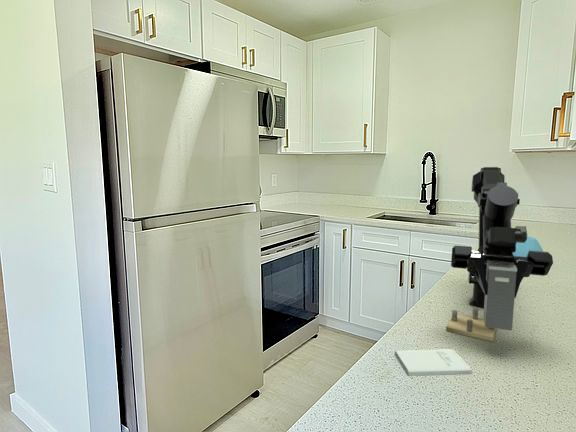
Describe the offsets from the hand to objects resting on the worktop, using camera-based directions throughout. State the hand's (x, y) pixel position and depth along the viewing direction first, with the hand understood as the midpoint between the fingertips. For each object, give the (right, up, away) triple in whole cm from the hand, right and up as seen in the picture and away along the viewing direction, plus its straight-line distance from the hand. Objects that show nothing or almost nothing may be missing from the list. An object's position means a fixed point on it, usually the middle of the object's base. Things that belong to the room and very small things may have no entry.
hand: (500, 295), depth 76 cm
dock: (+2, -11, +15) cm, 19 cm away
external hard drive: (-14, -14, -1) cm, 20 cm away
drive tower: (+1, -7, +2) cm, 7 cm away
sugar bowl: (+51, -2, +74) cm, 90 cm away
